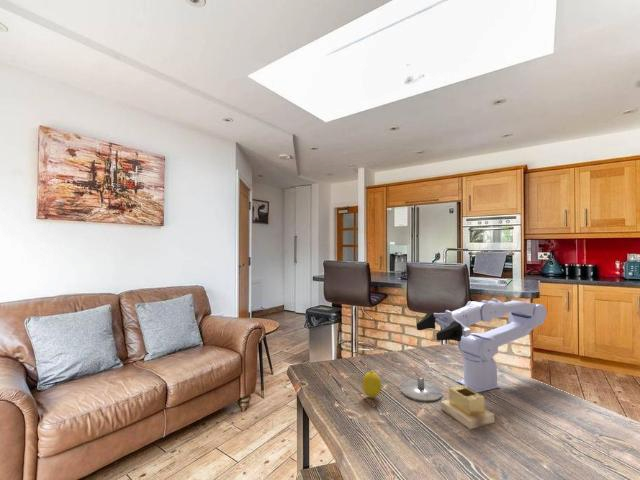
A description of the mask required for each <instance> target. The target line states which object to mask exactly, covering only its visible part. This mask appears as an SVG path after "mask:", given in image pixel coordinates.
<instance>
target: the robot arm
mask: <svg viewBox="0 0 640 480" xmlns="http://www.w3.org/2000/svg"><path fill="white" fill-rule="evenodd" d="M506 314H508V318H507V320H508V323H507V324H504V325H502V326H499V327H496V328H493V329H490V330H488V331H485V332H471V328H469V326H470V327H471V326H472V325H474V324H476V323H479V322H486V323H490V322H491V321H492V320H493V319H499V318H503V317H505V316H506ZM546 318H547V308H546V307H545V305H543V304H542V303H533V302H526V301H521V300H518V299H516V300H513V299H512V300H510V301H505V302H503V301H501V300H499V299H498V298H491V300H487V299H486V300H485V299H484V300H483V299H482V300H481V301H480V302H479V301H476V300H475V301H471V300H469V301H467V303H466V305H465V306H462V307H460V308H458V309H454V310H453V311H450V310H449V309H446V310H445V311H444V312H439V313H438V312H434V311H432V310H428V311H426V314H425V315H424V317H423V318H422V319H420V320H419V321H418V322H417V323H416V330H417V331H425V330H427V329H433V330H436V325H438V326H439V327H440V328H441V330H438V331H437V332H436V334H435V335H436V336H435V337H436V339H435V340H436V341H438V342H439V341H441V342H442V341H455V342H456V343H457V344H456V346H457V349H458V350H459V351H460V355H461V356H463V357H462V358H463V378H462V379H458V380H457V382H458V383H459V384H461V385H464V386H466V387H468V388H469V389H471V390H473V391H475V392H477V393H482V392H485V391H490V390H493V389H498V388H500V385H499V384H498V368H497V363H496V361H495V360H494V358H493V357H494V356H495V355H497V354H498V353H499V347H501V346H504V345H507V344H509V343H511V342H513V341H516V340H518V339H521V338H524V337H526V336H528V334H530V332H532V331H533V330H534V329H535V328H536V327H539V326H540V325H544V324H545V321H546Z"/></svg>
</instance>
